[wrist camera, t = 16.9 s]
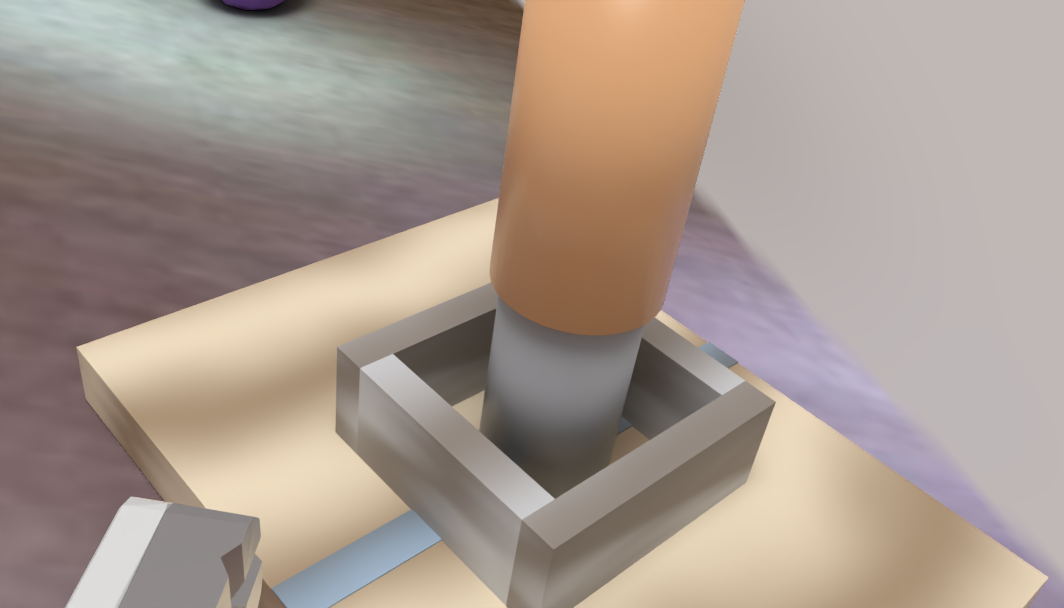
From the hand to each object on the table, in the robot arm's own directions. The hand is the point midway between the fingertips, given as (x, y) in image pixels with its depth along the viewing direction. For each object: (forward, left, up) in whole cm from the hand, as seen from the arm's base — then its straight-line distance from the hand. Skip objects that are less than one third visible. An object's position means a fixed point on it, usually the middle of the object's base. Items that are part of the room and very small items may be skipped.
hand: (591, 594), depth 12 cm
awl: (-8, +9, -10) cm, 15 cm away
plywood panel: (-8, +9, -12) cm, 17 cm away
